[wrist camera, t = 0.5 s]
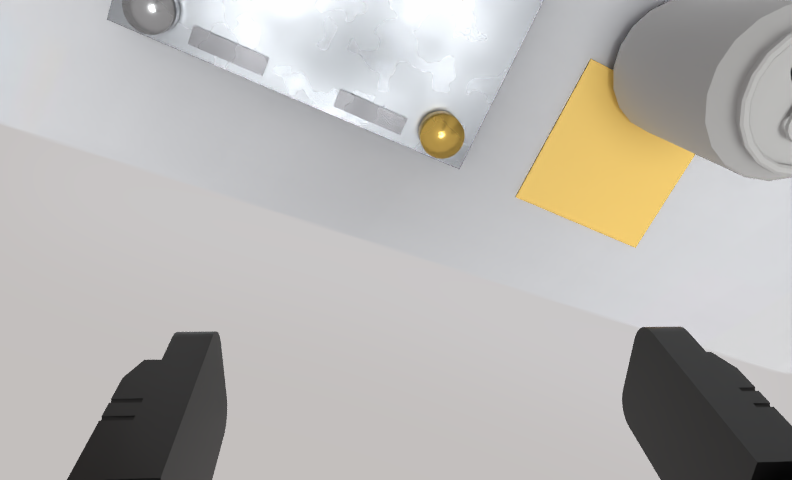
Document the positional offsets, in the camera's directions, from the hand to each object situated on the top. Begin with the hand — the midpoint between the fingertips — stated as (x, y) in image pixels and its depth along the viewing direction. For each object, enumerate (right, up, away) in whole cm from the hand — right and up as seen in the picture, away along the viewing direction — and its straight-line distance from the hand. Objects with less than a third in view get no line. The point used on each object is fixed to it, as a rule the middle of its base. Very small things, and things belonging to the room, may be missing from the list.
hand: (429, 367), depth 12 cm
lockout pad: (+13, +7, +26) cm, 30 cm away
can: (+15, +13, +24) cm, 31 cm away
